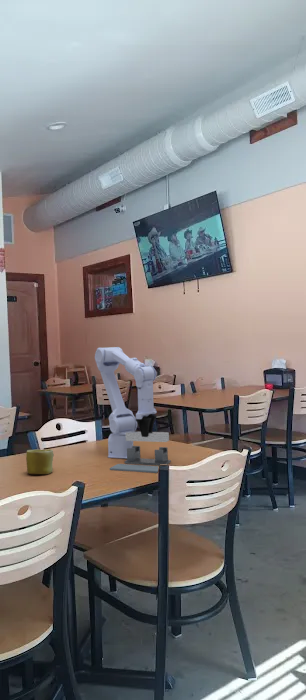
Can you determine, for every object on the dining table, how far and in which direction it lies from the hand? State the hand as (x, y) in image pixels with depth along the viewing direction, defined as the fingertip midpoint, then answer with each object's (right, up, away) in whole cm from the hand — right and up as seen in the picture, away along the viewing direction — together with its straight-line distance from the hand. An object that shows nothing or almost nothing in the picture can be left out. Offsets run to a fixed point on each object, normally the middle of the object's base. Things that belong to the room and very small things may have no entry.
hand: (146, 435), depth 210 cm
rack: (0, -10, 0) cm, 10 cm away
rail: (0, -2, 0) cm, 2 cm away
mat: (-3, -10, -9) cm, 14 cm away
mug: (-37, -12, -9) cm, 39 cm away
